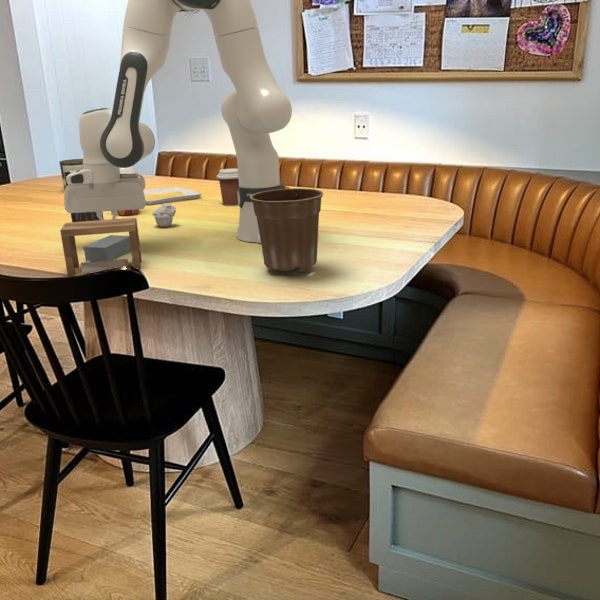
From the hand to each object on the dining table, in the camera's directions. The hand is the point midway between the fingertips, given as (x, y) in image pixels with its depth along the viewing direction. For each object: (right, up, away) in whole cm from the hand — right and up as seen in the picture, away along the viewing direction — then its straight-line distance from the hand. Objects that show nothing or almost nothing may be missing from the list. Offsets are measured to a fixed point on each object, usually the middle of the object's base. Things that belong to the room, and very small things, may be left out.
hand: (108, 227), depth 167 cm
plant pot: (+48, -11, -21) cm, 54 cm away
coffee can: (-34, +20, +76) cm, 85 cm away
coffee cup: (+27, +13, +50) cm, 58 cm away
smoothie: (-5, +8, +37) cm, 38 cm away
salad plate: (+1, +16, +63) cm, 65 cm away
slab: (+3, -8, -8) cm, 12 cm away
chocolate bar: (-11, 0, +17) cm, 20 cm away
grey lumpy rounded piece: (+11, +2, +21) cm, 23 cm away
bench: (+5, -12, -19) cm, 23 cm away
